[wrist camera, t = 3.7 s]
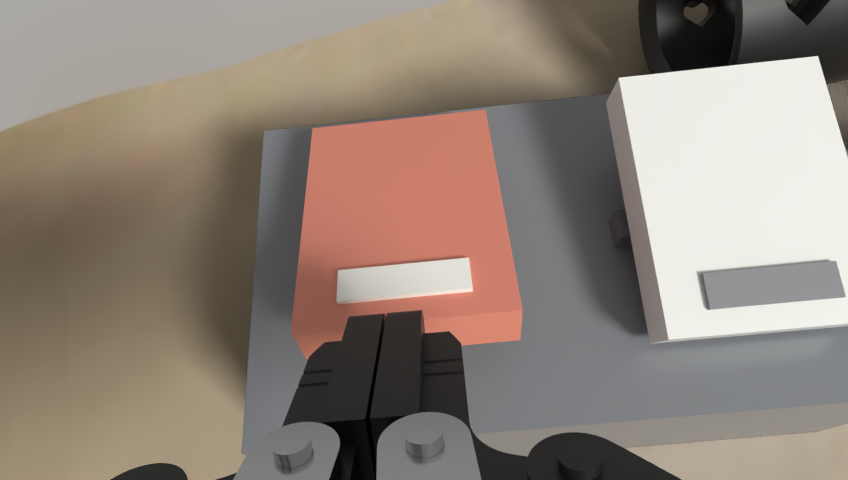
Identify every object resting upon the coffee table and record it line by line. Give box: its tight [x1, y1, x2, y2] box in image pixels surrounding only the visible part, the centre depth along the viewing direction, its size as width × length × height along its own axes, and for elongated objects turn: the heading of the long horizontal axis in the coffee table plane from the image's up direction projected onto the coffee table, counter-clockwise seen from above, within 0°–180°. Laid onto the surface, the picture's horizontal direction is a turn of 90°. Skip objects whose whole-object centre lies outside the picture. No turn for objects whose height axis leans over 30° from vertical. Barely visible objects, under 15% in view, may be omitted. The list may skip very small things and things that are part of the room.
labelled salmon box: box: [291, 110, 523, 360], centre depth 18 cm, size 6×8×2 cm
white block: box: [606, 56, 848, 344], centre depth 17 cm, size 6×8×2 cm
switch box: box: [242, 94, 848, 456], centre depth 23 cm, size 21×12×9 cm, turn 94°
